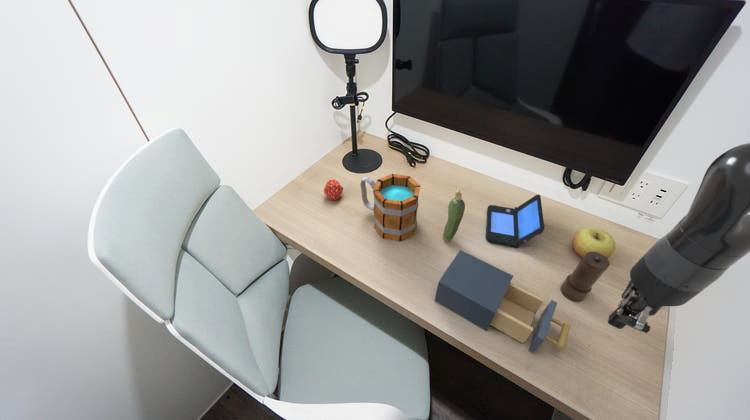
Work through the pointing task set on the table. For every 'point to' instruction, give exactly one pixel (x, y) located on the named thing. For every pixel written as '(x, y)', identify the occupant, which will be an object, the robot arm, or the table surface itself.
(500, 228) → the game console
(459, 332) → the table surface
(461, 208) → the vegetable
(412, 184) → the mug
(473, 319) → the cabinet
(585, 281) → the pepper mill
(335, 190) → the red bumpy fruit
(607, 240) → the apple
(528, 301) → the drawer
